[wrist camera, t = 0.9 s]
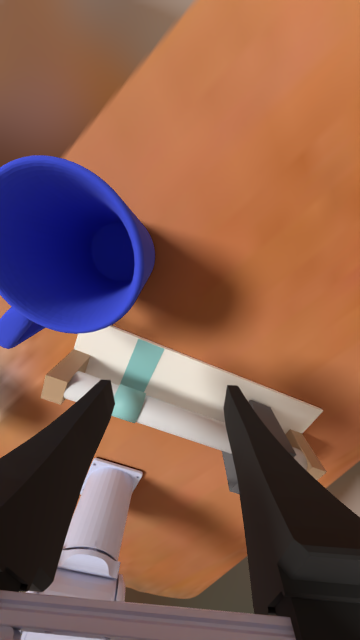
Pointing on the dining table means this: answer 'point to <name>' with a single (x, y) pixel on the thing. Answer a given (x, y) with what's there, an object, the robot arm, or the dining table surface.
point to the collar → (274, 427)
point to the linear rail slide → (172, 391)
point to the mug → (66, 250)
